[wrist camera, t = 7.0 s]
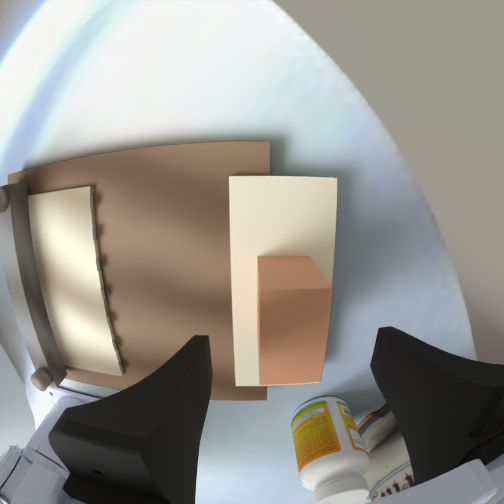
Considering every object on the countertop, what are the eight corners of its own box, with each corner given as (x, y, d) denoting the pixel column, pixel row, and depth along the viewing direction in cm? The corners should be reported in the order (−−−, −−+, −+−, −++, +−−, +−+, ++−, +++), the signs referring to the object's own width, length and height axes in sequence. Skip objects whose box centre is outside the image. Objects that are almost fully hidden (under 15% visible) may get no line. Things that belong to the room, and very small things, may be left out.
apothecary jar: (418, 364, 21) (518, 508, 3) (451, 407, 23) (517, 507, 6) (318, 439, 23) (352, 593, 5) (372, 465, 25) (408, 573, 8)
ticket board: (265, 387, 21) (268, 434, 16) (57, 365, 21) (31, 395, 16) (267, 144, 16) (275, 130, 11) (19, 174, 16) (-24, 177, 11)
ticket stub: (318, 379, 19) (334, 432, 14) (235, 382, 19) (232, 438, 14) (335, 178, 15) (373, 178, 10) (229, 176, 15) (219, 174, 10)
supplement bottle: (283, 431, 22) (294, 517, 13) (299, 393, 21) (320, 489, 12) (335, 432, 23) (358, 510, 13) (356, 394, 21) (393, 479, 12)
